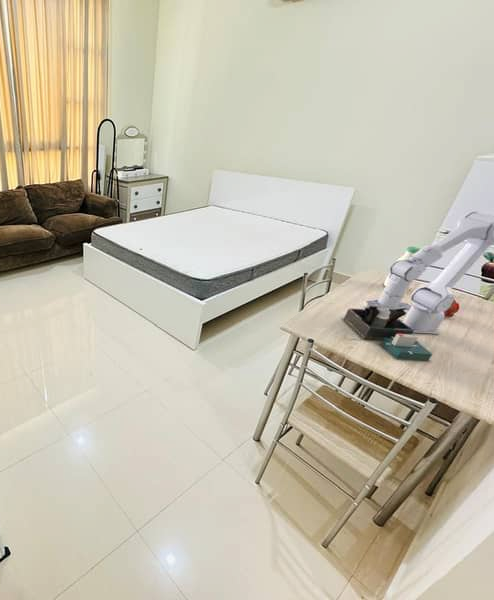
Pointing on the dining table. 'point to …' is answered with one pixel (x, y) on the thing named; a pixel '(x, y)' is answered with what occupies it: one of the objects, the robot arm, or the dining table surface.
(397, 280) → the robot arm
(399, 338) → the white rectangular block
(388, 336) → the dark open box
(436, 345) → the dining table surface
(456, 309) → the dragon fruit
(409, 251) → the milk bottle
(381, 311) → the pill bottle
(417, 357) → the teal flat box
